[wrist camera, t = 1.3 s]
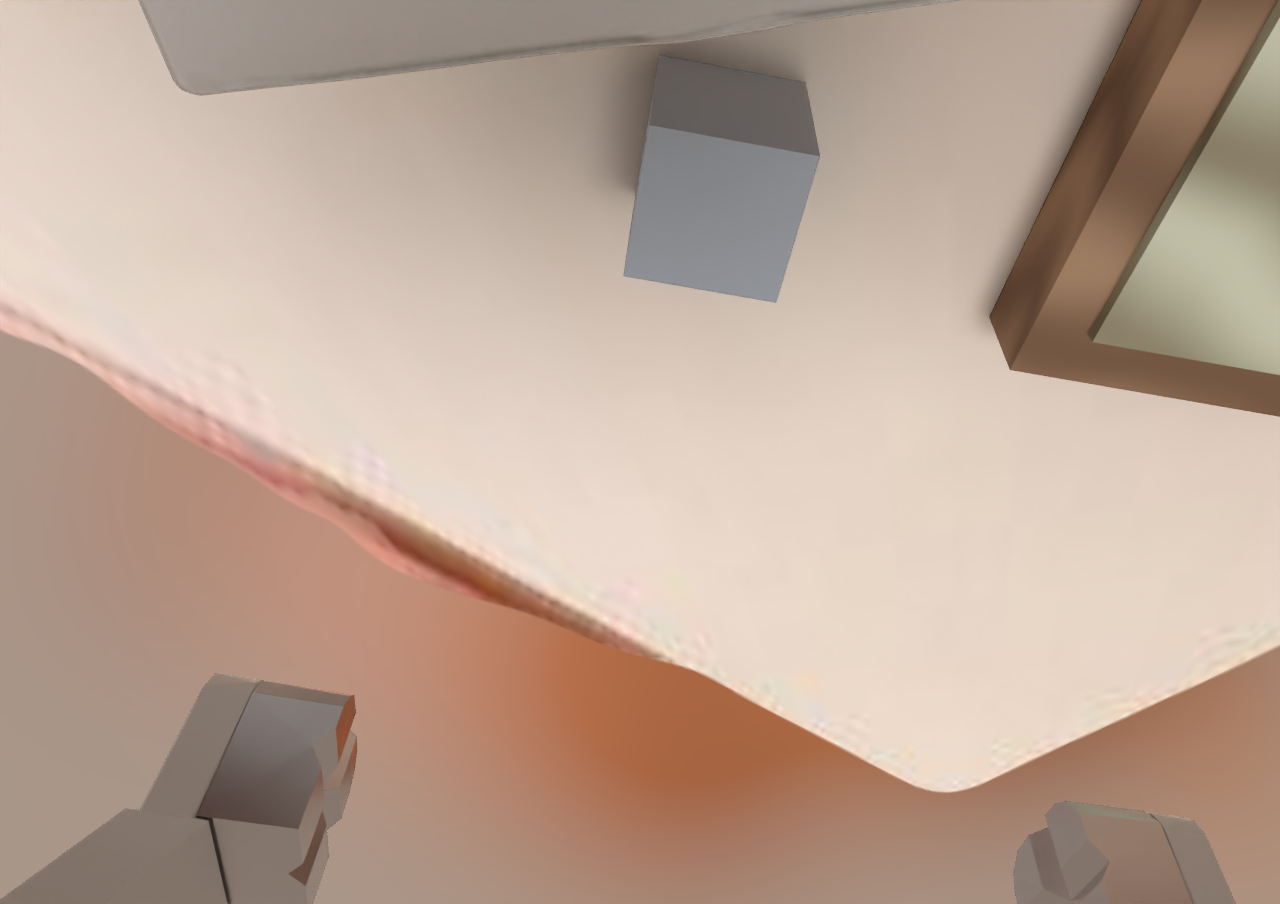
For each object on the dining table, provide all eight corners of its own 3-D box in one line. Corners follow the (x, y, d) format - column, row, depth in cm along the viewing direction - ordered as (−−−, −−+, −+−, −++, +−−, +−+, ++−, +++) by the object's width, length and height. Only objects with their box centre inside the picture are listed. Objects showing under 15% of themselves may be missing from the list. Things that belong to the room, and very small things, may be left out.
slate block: (659, 54, 32) (649, 125, 27) (805, 82, 32) (819, 156, 27) (635, 192, 35) (623, 276, 30) (768, 216, 35) (775, 302, 31)
